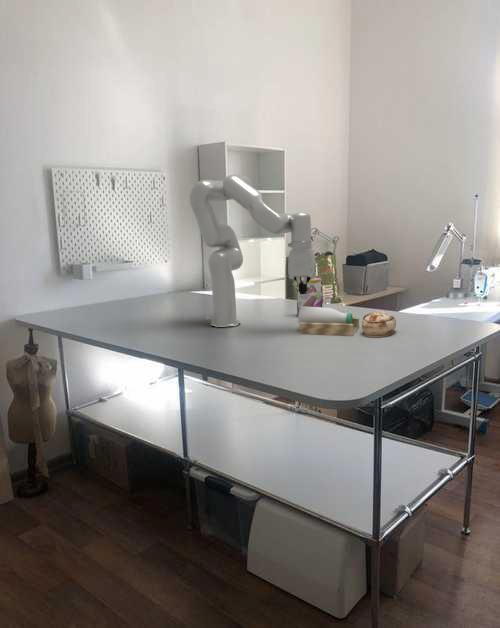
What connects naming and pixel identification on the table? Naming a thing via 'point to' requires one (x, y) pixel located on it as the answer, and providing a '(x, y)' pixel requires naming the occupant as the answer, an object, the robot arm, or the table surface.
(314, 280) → the candy bar box
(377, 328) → the bowl of food
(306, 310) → the milk bottle
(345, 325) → the brown rectangular tray
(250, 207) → the robot arm
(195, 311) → the table surface
